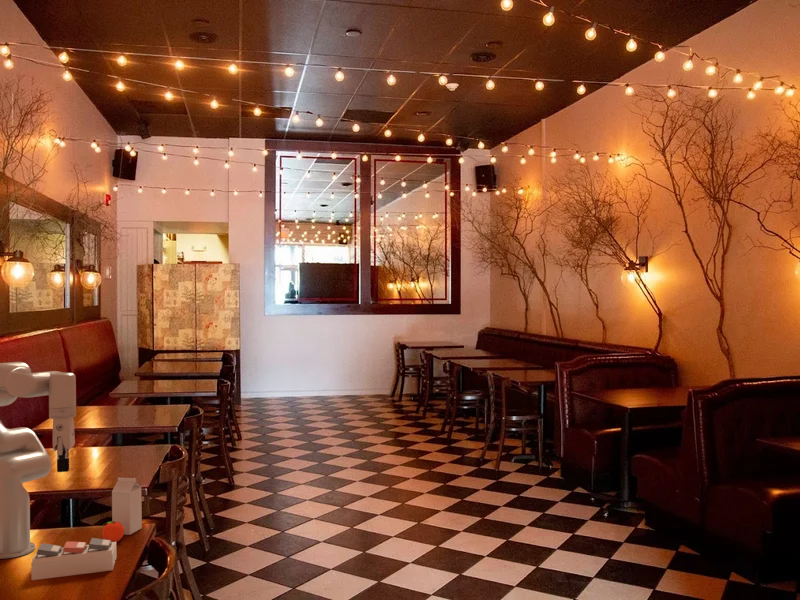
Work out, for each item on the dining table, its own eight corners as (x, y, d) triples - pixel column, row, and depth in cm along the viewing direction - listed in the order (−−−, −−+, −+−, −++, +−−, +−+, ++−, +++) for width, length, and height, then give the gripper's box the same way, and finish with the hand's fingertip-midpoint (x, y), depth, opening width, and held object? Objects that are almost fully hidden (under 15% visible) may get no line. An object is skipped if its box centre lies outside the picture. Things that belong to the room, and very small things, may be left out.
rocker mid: (62, 552, 198) (63, 547, 198) (65, 545, 203) (66, 541, 203) (82, 553, 199) (83, 548, 199) (85, 546, 204) (86, 541, 205)
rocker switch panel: (31, 580, 194) (31, 559, 194) (39, 566, 204) (39, 547, 204) (112, 570, 200) (112, 550, 201) (116, 557, 211) (116, 538, 211)
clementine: (94, 544, 223) (94, 523, 223) (108, 537, 230) (108, 517, 230) (115, 546, 221) (115, 525, 221) (128, 539, 228) (128, 518, 228)
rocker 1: (36, 554, 195) (37, 549, 196) (40, 547, 201) (41, 542, 201) (56, 557, 197) (58, 552, 197) (60, 550, 202) (61, 545, 202)
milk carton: (130, 535, 232) (129, 481, 232) (112, 534, 233) (111, 480, 234) (142, 528, 239) (141, 476, 239) (124, 527, 240) (123, 475, 240)
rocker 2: (88, 548, 200) (89, 543, 200) (90, 542, 205) (92, 537, 205) (107, 550, 201) (108, 545, 201) (109, 544, 207) (111, 539, 207)
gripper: (71, 415, 200) (72, 475, 200) (79, 408, 214) (80, 465, 214) (44, 416, 198) (44, 478, 198) (54, 409, 212) (54, 467, 212)
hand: (63, 471), depth 206 cm, fingers closed
